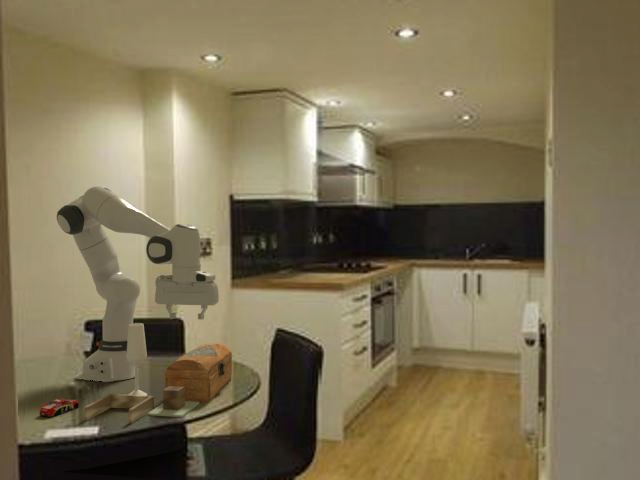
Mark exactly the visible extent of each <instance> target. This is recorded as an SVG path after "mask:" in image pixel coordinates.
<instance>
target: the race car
mask: <svg viewBox="0 0 640 480" xmlns="http://www.w3.org/2000/svg"><path fill="white" fill-rule="evenodd" d="M79 406H80V403H79V401H78V400H77V399H61V398H60V399H59V398H56V399H54V400H51V401H48V402H47V403H46V404H44V405H43V406H41V407H40V409H39V416H42V417H58V416H60V415H62V414H64V413H68V412H70V411H72V410H76V409H78V408H79Z"/></svg>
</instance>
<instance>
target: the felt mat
mask: <svg viewBox="0 0 640 480" xmlns="http://www.w3.org/2000/svg"><path fill="white" fill-rule="evenodd" d="M198 405H200V401H185V406H184V407H182V408H181V409H179V410H165V409H163V402H162V403H161V404H159V405H158V406H156V407H154V409H153V410H152V411H150V412H149V413H147V416H157V417H171V418H173V417H174V418H183V417H184V416H186V415H187V414H188V413H189V412H191V411H192V410H193V409H194V408H196V407H198Z"/></svg>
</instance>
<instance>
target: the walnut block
mask: <svg viewBox="0 0 640 480" xmlns="http://www.w3.org/2000/svg"><path fill="white" fill-rule="evenodd" d="M162 403H163V409H165V410H179V409H181V408H182V407H184V406H185V387H182V386H169V387H167V388H166V387H165V388H164V389H162Z"/></svg>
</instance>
